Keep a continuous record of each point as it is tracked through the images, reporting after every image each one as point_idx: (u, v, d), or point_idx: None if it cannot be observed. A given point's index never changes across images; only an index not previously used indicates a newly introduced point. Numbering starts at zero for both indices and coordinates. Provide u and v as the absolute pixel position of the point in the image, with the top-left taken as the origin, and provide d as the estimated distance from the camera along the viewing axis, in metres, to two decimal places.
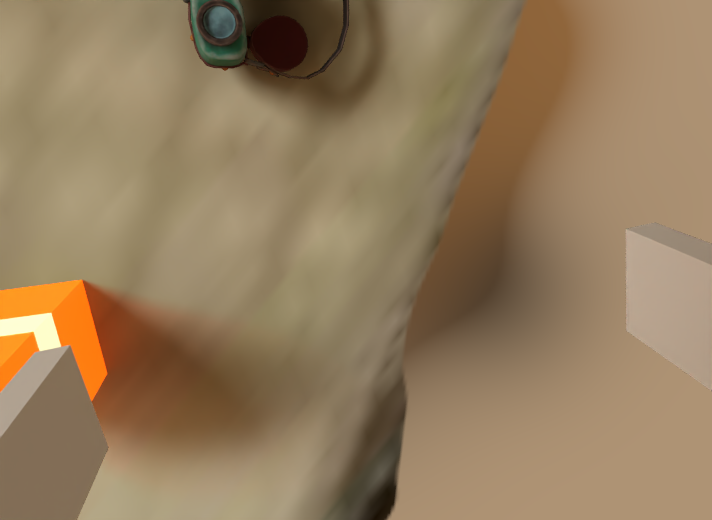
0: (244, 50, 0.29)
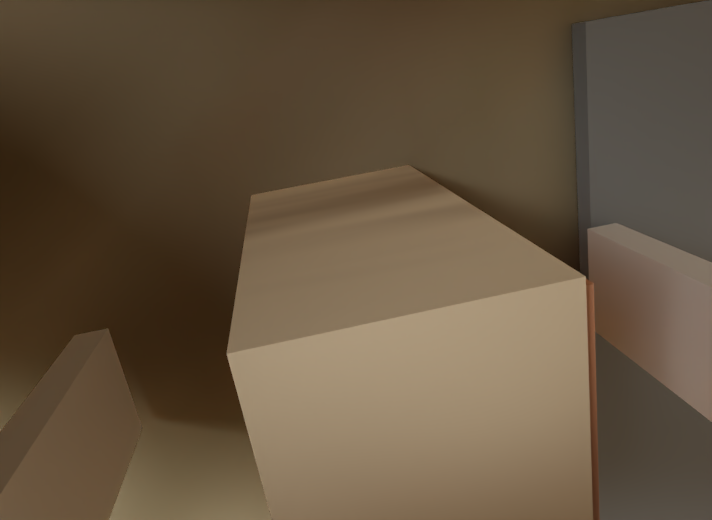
0: None
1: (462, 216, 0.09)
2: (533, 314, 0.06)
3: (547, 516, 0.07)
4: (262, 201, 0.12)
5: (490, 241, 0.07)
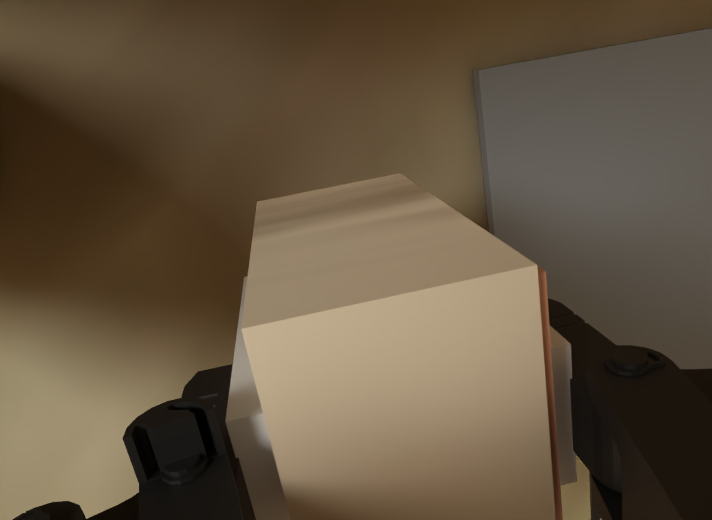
0: None
1: (443, 218, 0.10)
2: (494, 296, 0.07)
3: (512, 472, 0.08)
4: (267, 207, 0.13)
5: (464, 238, 0.09)
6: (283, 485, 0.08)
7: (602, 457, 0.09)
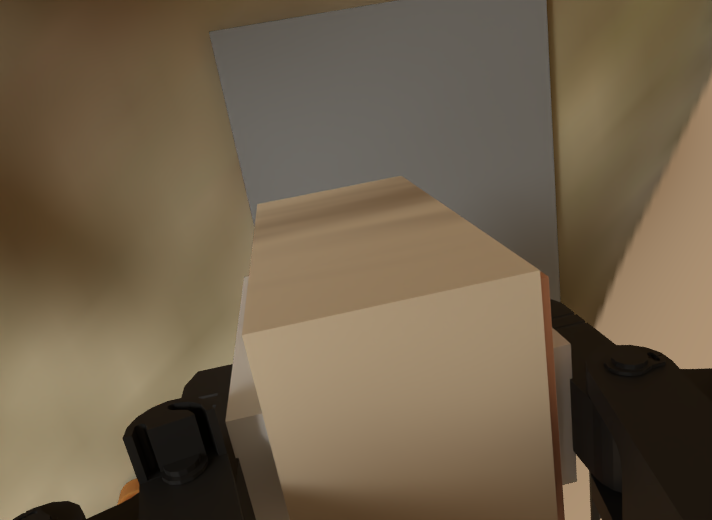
0: None
1: (444, 222, 0.10)
2: (497, 302, 0.07)
3: (515, 478, 0.08)
4: (268, 210, 0.13)
5: (466, 243, 0.09)
6: (284, 492, 0.08)
7: (602, 457, 0.09)
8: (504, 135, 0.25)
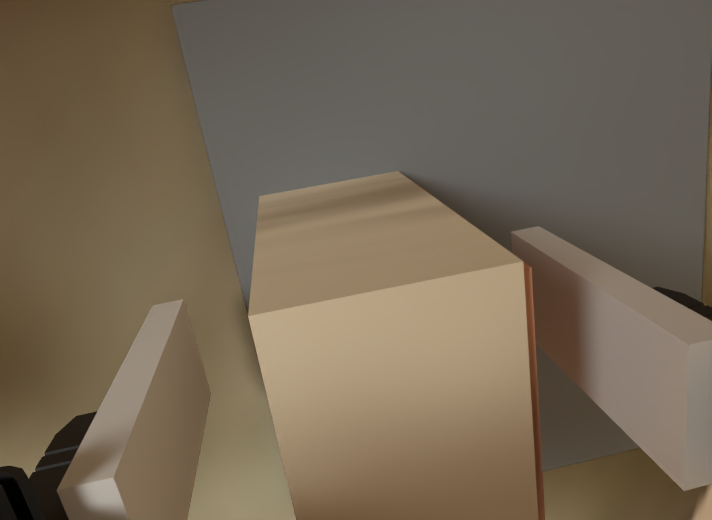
0: None
1: (437, 215, 0.10)
2: (483, 290, 0.08)
3: (498, 454, 0.09)
4: (269, 202, 0.14)
5: (456, 235, 0.09)
6: (284, 462, 0.08)
7: None
8: (635, 170, 0.16)
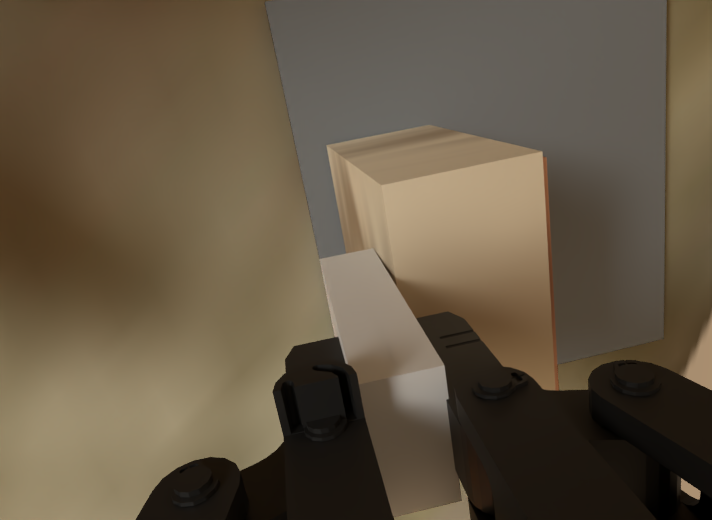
0: None
1: (475, 140, 0.15)
2: (518, 169, 0.13)
3: (527, 281, 0.14)
4: (338, 146, 0.19)
5: (494, 146, 0.14)
6: (397, 285, 0.13)
7: (477, 483, 0.08)
8: (610, 123, 0.21)
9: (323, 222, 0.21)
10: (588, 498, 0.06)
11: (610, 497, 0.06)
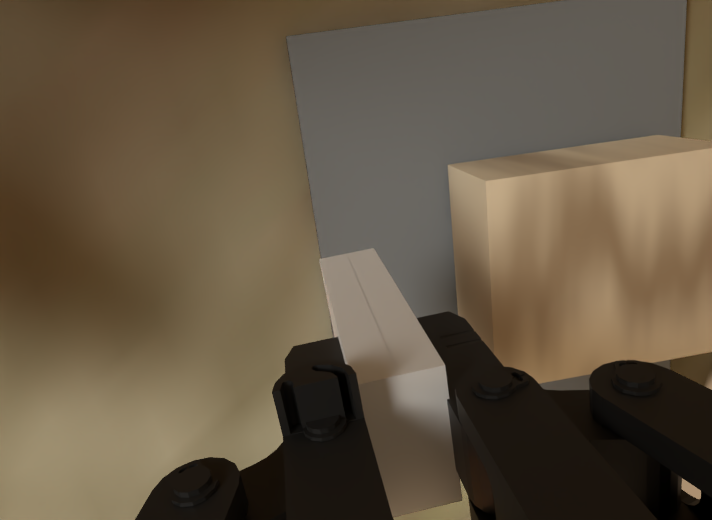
0: None
1: (586, 146, 0.20)
2: None
3: None
4: (514, 174, 0.17)
5: (622, 141, 0.20)
6: None
7: (477, 482, 0.08)
8: None
9: None
10: (589, 498, 0.06)
11: (611, 497, 0.06)
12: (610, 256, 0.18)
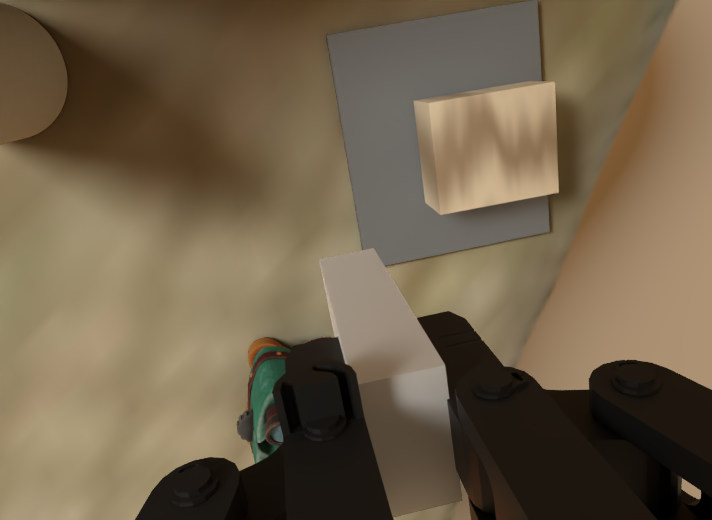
0: None
1: (487, 88, 0.37)
2: None
3: None
4: (443, 100, 0.34)
5: (507, 85, 0.37)
6: (555, 121, 0.35)
7: (477, 483, 0.08)
8: None
9: (353, 153, 0.38)
10: (589, 498, 0.06)
11: (611, 497, 0.06)
12: (494, 141, 0.35)
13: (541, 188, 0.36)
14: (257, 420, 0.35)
